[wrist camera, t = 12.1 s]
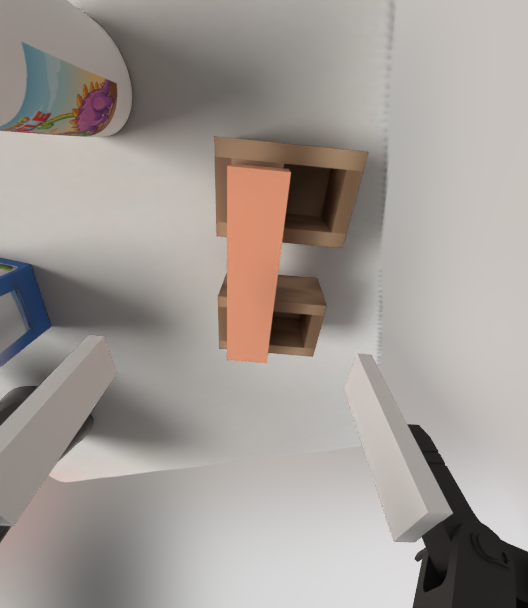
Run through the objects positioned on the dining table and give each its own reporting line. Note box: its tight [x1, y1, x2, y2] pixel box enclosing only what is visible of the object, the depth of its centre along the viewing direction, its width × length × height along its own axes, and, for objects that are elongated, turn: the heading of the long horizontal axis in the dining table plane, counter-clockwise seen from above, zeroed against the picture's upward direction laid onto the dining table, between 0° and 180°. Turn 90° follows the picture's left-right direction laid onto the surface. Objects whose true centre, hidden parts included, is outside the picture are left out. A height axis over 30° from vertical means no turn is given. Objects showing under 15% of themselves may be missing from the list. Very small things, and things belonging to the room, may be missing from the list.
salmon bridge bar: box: [227, 164, 291, 363], centre depth 23 cm, size 17×4×7 cm, turn 175°
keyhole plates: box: [214, 136, 368, 357], centre depth 25 cm, size 11×20×6 cm, turn 175°
